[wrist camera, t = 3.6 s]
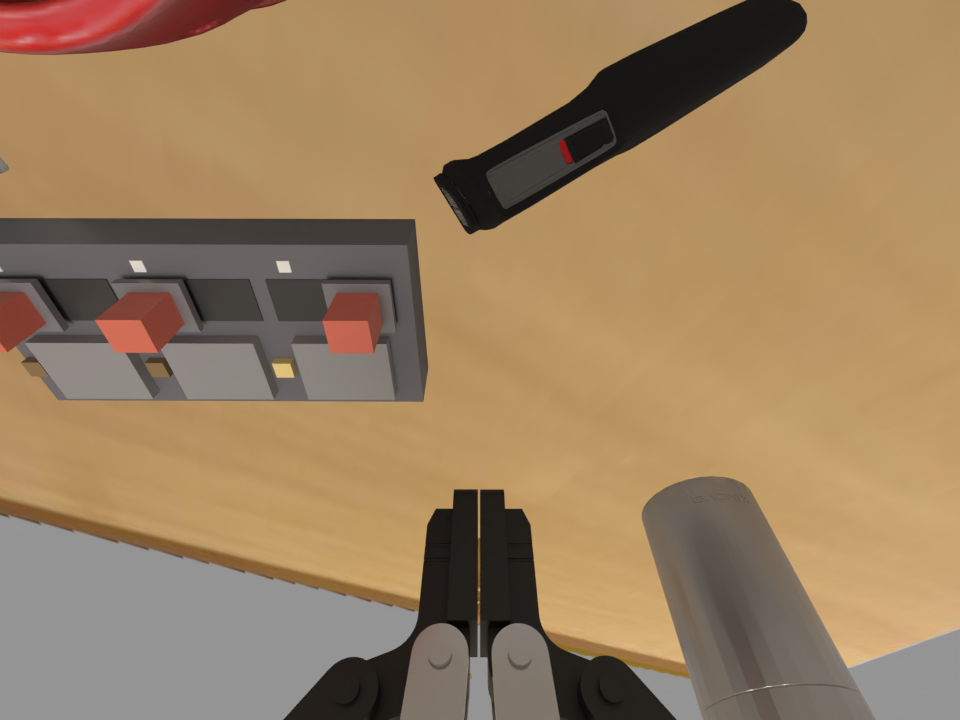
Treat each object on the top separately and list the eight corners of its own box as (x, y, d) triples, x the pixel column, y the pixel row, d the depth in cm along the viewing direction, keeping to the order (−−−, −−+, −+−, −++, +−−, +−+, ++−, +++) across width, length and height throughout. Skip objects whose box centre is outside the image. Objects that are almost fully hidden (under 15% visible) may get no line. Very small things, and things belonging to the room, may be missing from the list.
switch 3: (396, 328, 24) (388, 362, 21) (335, 328, 24) (319, 361, 21) (390, 279, 22) (380, 311, 20) (323, 279, 22) (306, 311, 20)
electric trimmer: (773, 66, 20) (816, 74, 17) (467, 233, 25) (465, 258, 22) (759, -33, 18) (805, -41, 15) (429, 169, 23) (422, 189, 20)
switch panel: (428, 367, 30) (422, 409, 27) (2, 366, 30) (-52, 408, 27) (414, 219, 24) (405, 251, 21) (-122, 217, 24) (-211, 249, 21)
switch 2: (204, 327, 24) (175, 361, 21) (142, 327, 24) (107, 360, 21) (182, 279, 22) (148, 310, 20) (115, 279, 22) (75, 310, 20)
